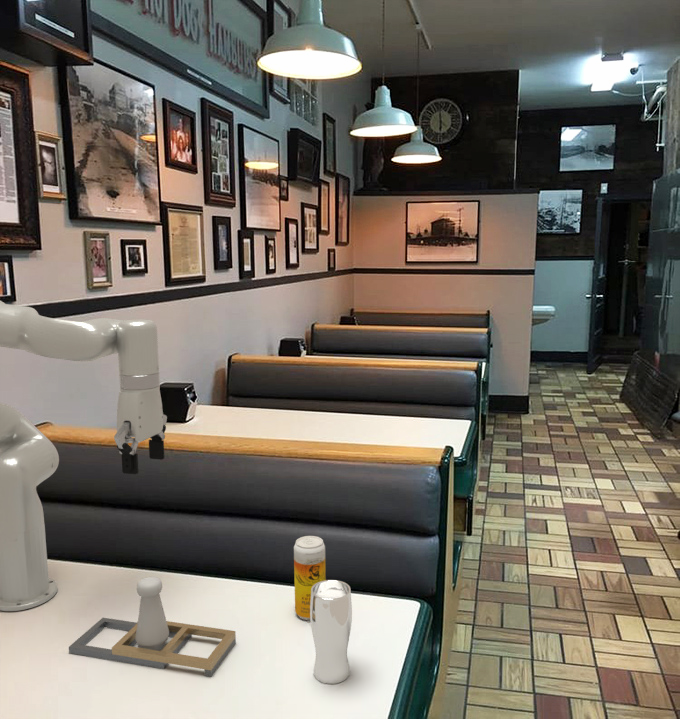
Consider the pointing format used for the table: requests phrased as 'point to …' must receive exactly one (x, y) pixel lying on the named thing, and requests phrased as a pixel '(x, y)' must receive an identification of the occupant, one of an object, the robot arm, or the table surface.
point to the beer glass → (331, 629)
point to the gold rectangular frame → (167, 652)
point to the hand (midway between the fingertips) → (144, 465)
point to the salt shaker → (151, 616)
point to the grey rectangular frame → (103, 653)
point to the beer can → (307, 571)
